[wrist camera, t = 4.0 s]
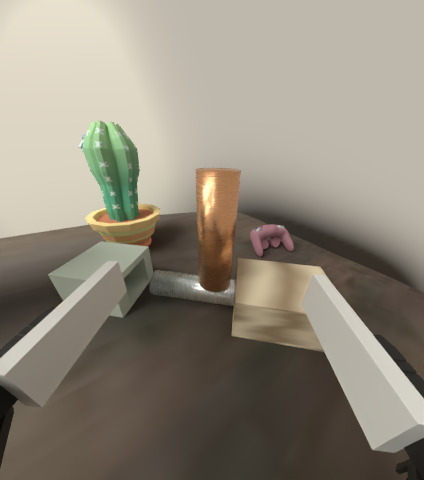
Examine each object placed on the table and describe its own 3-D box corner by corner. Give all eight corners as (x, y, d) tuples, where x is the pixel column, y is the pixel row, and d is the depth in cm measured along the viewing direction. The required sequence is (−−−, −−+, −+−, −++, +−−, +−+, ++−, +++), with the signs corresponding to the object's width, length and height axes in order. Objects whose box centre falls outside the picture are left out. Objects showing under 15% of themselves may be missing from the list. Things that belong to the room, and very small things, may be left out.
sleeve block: (231, 335, 21) (235, 302, 18) (234, 286, 28) (237, 258, 26) (334, 353, 19) (356, 320, 16) (308, 296, 27) (320, 266, 24)
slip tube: (150, 301, 24) (120, 168, 15) (163, 281, 28) (144, 165, 19) (312, 326, 21) (384, 178, 12) (301, 299, 25) (351, 172, 16)
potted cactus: (157, 226, 50) (142, 129, 39) (172, 250, 39) (157, 120, 27) (98, 236, 44) (58, 123, 32) (94, 269, 32) (29, 107, 20)
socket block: (67, 308, 24) (47, 274, 21) (110, 269, 32) (100, 241, 29) (123, 317, 23) (111, 283, 20) (154, 275, 31) (148, 246, 28)
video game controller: (283, 250, 43) (280, 223, 42) (296, 251, 38) (293, 221, 38) (249, 255, 40) (246, 227, 40) (259, 258, 36) (256, 225, 35)
